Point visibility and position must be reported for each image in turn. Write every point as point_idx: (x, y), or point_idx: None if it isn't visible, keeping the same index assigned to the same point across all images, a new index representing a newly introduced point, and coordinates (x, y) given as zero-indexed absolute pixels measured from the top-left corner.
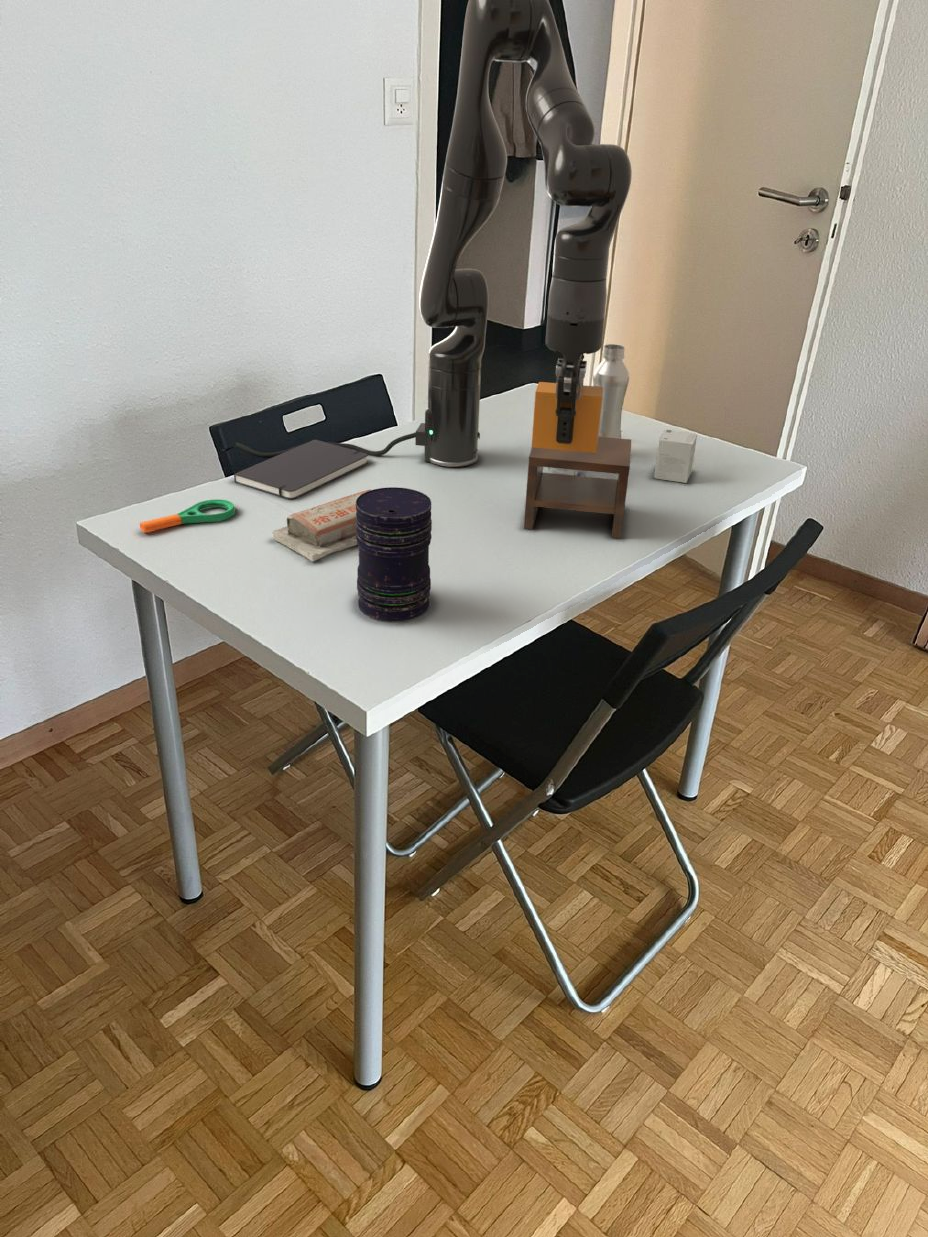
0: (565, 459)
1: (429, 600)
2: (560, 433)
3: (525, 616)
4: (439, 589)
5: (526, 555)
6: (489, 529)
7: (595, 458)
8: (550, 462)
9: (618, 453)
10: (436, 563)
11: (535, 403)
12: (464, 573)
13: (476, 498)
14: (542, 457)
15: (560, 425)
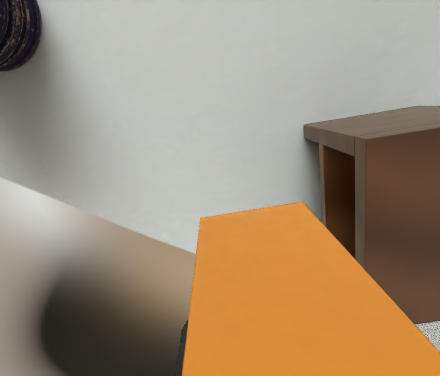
0: (370, 219)
1: (14, 66)
2: (180, 344)
3: (61, 195)
4: (65, 65)
5: (219, 152)
6: (285, 72)
7: (392, 271)
8: (360, 187)
9: (431, 303)
10: (138, 29)
11: (186, 338)
12: (128, 84)
13: (405, 7)
14: (370, 170)
15: (177, 369)
